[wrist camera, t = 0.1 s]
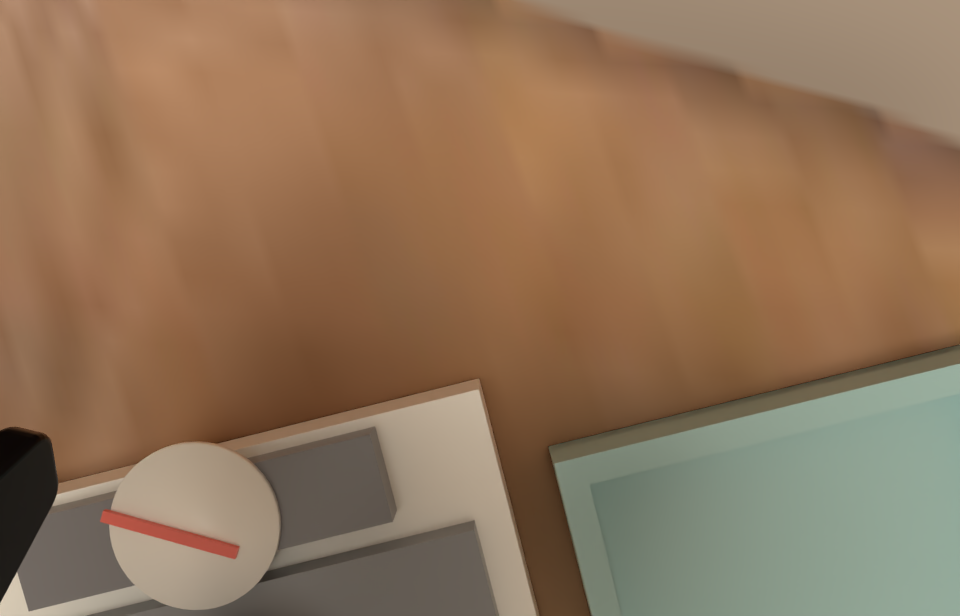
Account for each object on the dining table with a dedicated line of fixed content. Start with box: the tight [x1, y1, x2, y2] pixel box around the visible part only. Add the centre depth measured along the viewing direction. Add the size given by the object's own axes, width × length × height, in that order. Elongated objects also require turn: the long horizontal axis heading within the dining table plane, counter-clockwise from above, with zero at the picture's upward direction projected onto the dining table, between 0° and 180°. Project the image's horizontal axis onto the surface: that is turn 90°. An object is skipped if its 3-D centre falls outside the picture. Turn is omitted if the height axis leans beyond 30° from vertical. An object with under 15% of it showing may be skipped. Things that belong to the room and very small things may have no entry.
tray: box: [548, 345, 960, 616], centre depth 23 cm, size 13×13×2 cm
